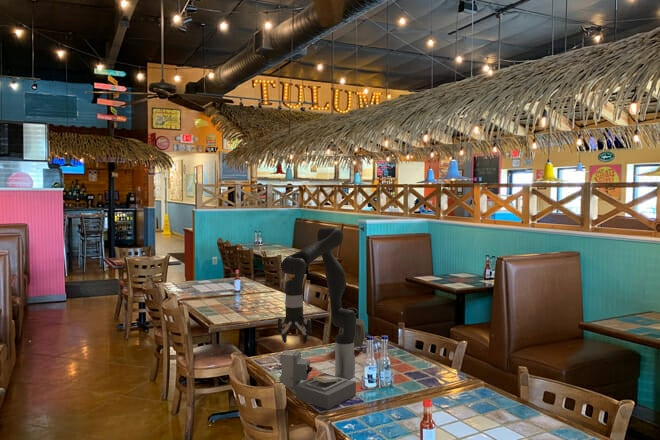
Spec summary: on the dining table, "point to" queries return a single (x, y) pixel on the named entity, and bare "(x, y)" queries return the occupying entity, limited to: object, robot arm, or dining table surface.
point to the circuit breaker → (293, 368)
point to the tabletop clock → (357, 331)
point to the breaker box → (325, 391)
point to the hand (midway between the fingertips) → (294, 342)
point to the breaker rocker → (325, 379)
